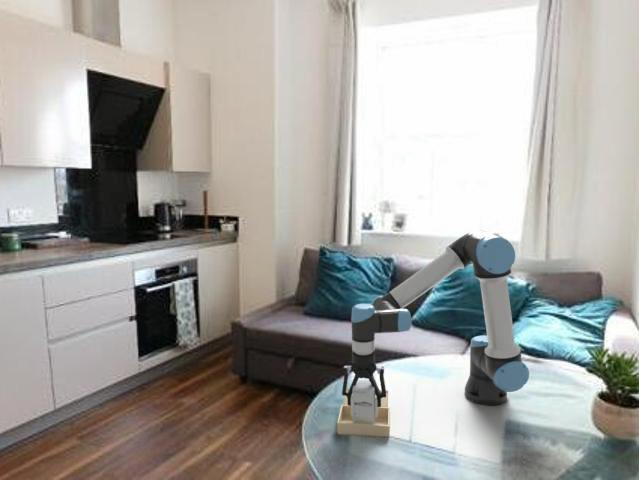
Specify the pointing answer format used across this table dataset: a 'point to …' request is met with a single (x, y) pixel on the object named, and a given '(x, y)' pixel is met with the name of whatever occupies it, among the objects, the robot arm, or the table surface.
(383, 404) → the lid flap
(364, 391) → the supplement box
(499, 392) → the robot arm
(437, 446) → the table surface
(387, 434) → the box
